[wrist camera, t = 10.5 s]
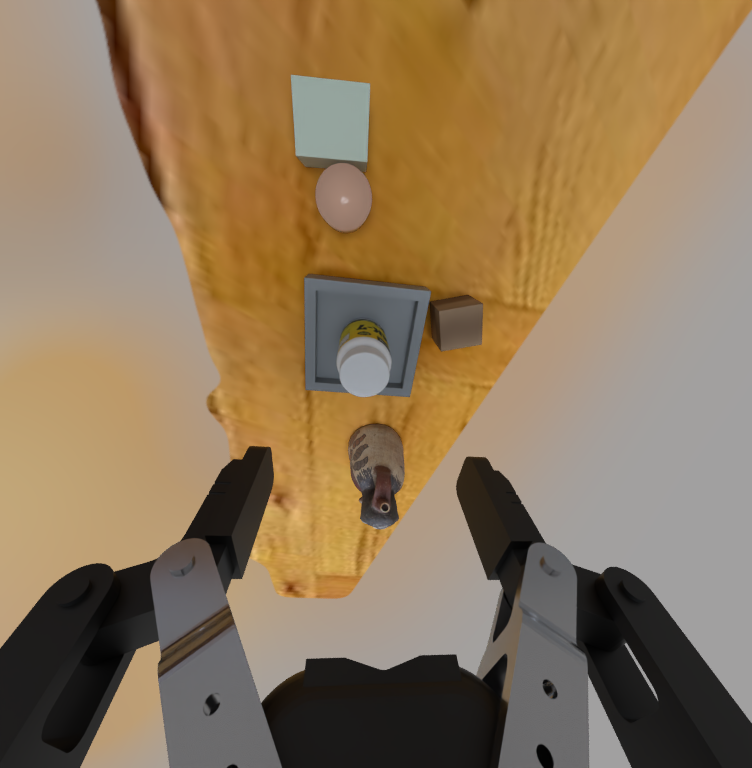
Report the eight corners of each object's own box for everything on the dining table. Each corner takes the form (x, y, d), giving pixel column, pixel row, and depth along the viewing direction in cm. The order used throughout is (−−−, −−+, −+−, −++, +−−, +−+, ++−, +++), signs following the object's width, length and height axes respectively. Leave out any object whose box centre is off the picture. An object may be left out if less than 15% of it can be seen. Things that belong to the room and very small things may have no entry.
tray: (308, 273, 27) (304, 277, 25) (425, 286, 28) (431, 291, 26) (309, 379, 32) (305, 389, 30) (406, 386, 33) (409, 396, 31)
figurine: (343, 458, 38) (338, 543, 28) (355, 418, 35) (354, 497, 25) (392, 466, 40) (404, 550, 29) (408, 428, 37) (428, 507, 26)
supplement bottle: (394, 332, 29) (407, 367, 21) (370, 367, 31) (375, 410, 23) (354, 308, 27) (353, 336, 20) (332, 346, 29) (323, 385, 22)
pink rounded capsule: (313, 193, 24) (304, 181, 19) (354, 169, 23) (355, 150, 19) (336, 241, 25) (333, 240, 21) (375, 219, 25) (381, 213, 20)
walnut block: (429, 301, 29) (439, 311, 25) (467, 294, 29) (482, 303, 25) (431, 337, 31) (441, 351, 27) (467, 331, 31) (481, 344, 27)
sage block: (302, 100, 21) (290, 74, 17) (368, 107, 21) (370, 83, 18) (305, 166, 23) (296, 155, 19) (366, 172, 23) (367, 161, 20)
